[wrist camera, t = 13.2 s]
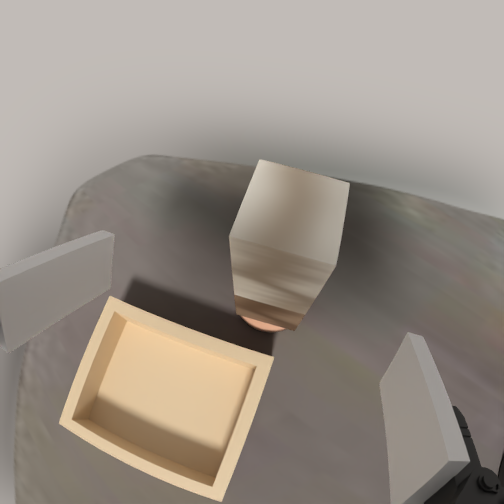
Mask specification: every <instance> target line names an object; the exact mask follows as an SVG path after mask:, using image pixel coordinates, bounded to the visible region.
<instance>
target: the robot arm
mask: <svg viewBox="0 0 504 504" xmlns="http://www.w3.org/2000/svg"><path fill="white" fill-rule="evenodd" d="M114 238H115V235H114V234H112V233H109V232H106V231H104V230H101V231H98V232H95V233H92V234H89V235H87V236H84V237H81V238H78V239H75V240H73V241H70V242H67V243H64V244H62V245H59V246H56V247H54V248H51V249H48V250H46V251H43V252H40V253H38V254H36V255H33V256H30V257H28V258H25V259H23V260H20V261H18V262H15V263H13V264H10V265H8V266H6V267H3V268H0V347H1V348H2V349H4V350H5V351H6V352H7V353H10V352H12V351H13V350H15V349H16V348H18V347H19V346H21V345H22V344H24V343H25V342H27V341H28V340H30V339H31V338H33V337H34V336H36V335H37V334H39V333H40V332H42V331H43V330H45V329H47V328H48V327H50V326H51V325H53V324H54V323H56V322H57V321H59V320H61V319H62V318H64V317H65V316H67V315H68V314H70V313H72V312H73V311H75V310H76V309H78V308H80V307H81V306H83V305H84V304H86V303H88V302H89V301H91V300H92V299H94V298H96V297H97V296H99V295H101V294H102V293H104V292H105V291H107V290H109V289H110V288H111V274H112V260H113V249H114ZM379 385H380V392H381V399H382V407H383V415H384V423H385V432H386V441H387V452H388V464H389V478H390V496H391V504H423V503H424V504H504V458H503V461H502V464H501V468H500V472H499V478H498V476H497V475H496V474H495V473H494V472H493V471H492V470H490V469H488V468H484V467H481V464H480V461H479V458H478V455H477V452H476V449H475V446H474V443H473V440H472V438H470V437H471V434H470V432H469V429H467V428H468V426H467V423H466V421H465V418H464V416H463V415H462V413H461V412H460V411H459V409H458V408H457V407H456V406H452V405H451V402H450V400H449V397H448V395H447V392H446V389H445V387H444V384H443V382H442V379H441V377H440V374H439V372H438V370H437V367H436V365H435V363H434V360H433V358H432V356H431V353H430V351H429V349H428V347H427V344H426V342H425V340H424V338H423V336H420V335H416V334H413V333H409V332H407V334H406V336H405V338H404V340H403V342H402V344H401V346H400V348H399V349H398V351H397V353H396V355H395V357H394V359H393V360H392V362H391V364H390V366H389V367H388V369H387V371H386V373H385V374H384V376H383V378H382V379H381V381H380V383H379Z"/></svg>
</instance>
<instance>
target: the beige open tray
mask: <svg viewBox="0 0 504 504" xmlns="http://www.w3.org/2000/svg"><path fill="white" fill-rule="evenodd" d="M273 359H274V357H272V356H268V355H265V354H262V353H259V352H256V351H253V350H250V349H247V348H243V347H240V346H237V345H235V344H232V343H229V342H226V341H223V340H220V339H217V338H214V337H211V336H209V335H206V334H203V333H200V332H198V331H195V330H192V329H190V328H187V327H184V326H182V325H179V324H176V323H174V322H171V321H169V320H166V319H164V318H161V317H159V316H156V315H154V314H151V313H149V312H146V311H144V310H141V309H139V308H137V307H134V306H132V305H130V304H127V303H125V302H123V301H120V300H118V299H116V298H114V297H111V296H110V297H109V299H108V301H107V303H106V305H105V307H104V309H103V312H102V314H101V316H100V318H99V321H98V323H97V325H96V327H95V330H94V332H93V334H92V337H91V339H90V341H89V344H88V346H87V349H86V351H85V354H84V356H83V358H82V361H81V364H80V366H79V369H78V371H77V374H76V376H75V379H74V382H73V384H72V387H71V390H70V393H69V395H68V398H67V401H66V404H65V407H64V410H63V413H62V416H61V419H60V422H59V424H61V425H62V426H64V427H65V428H67V429H68V430H70V431H71V432H73V433H74V434H76V435H78V436H79V437H81V438H82V439H84V440H86V441H87V442H89V443H91V444H92V445H94V446H96V447H97V448H99V449H101V450H103V451H104V452H106V453H108V454H110V455H112V456H114V457H115V458H117V459H119V460H121V461H123V462H125V463H127V464H129V465H131V466H133V467H135V468H137V469H139V470H141V471H143V472H145V473H148V474H150V475H152V476H154V477H156V478H159V479H161V480H163V481H166V482H168V483H171V484H173V485H175V486H178V487H180V488H183V489H186V490H188V491H191V492H194V493H196V494H199V495H202V496H205V497H208V498H211V499H214V500H217V501H220V502H222V499H223V497H224V494H225V492H226V489H227V487H228V484H229V482H230V479H231V477H232V474H233V471H234V469H235V466H236V464H237V461H238V458H239V456H240V453H241V450H242V448H243V445H244V442H245V440H246V437H247V434H248V431H249V429H250V426H251V423H252V420H253V418H254V415H255V412H256V409H257V406H258V403H259V401H260V398H261V395H262V392H263V389H264V386H265V383H266V380H267V377H268V374H269V371H270V368H271V365H272V362H273Z"/></svg>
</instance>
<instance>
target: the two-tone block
mask: <svg viewBox="0 0 504 504" xmlns="http://www.w3.org/2000/svg"><path fill="white" fill-rule="evenodd" d="M349 186H350V183H347V182H344V181H341V180H337V179H334V178H330V177H327V176H323V175H320V174H316V173H312V172H308V171H304V170H301V169H297V168H293V167H289V166H285V165H281V164H277V163H273V162H269V161H265V160H261V159H260V160H259V162H258V165H257V167H256V169H255V172H254V174H253V177H252V179H251V182H250V184H249V187H248V189H247V192H246V194H245V197H244V199H243V202H242V204H241V207H240V209H239V212H238V214H237V217H236V219H235V222H234V224H233V227H232V230H231V232H230V235H229V242H230V253H231V264H232V275H233V285H234V296H235V306H236V314H237V315H241V316H244V317H247V318H251V319H254V320H257V321H261V322H264V323H268V324H271V325H275V326H278V327H282V328H286V329H289V330H293V331H295V329H296V328H297V326H298V325H299V323H300V322H301V320H302V319H303V317H304V316H305V314H306V313H307V311H308V310H309V308H310V307H311V305H312V303H313V302H314V300H315V299H316V297H317V296H318V294H319V293H320V291H321V289H322V288H323V286H324V285H325V283H326V281H327V280H328V278H329V277H330V275H331V273H332V272H333V270H334V269H335V267H336V264H337V259H338V254H339V248H340V243H341V237H342V231H343V225H344V219H345V213H346V207H347V200H348V193H349Z"/></svg>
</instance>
